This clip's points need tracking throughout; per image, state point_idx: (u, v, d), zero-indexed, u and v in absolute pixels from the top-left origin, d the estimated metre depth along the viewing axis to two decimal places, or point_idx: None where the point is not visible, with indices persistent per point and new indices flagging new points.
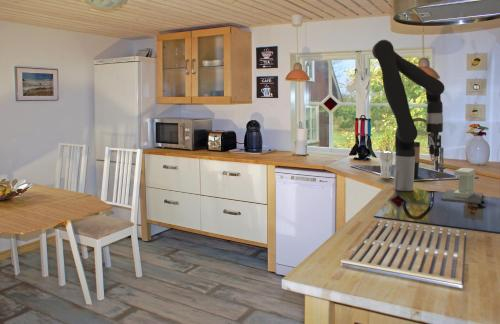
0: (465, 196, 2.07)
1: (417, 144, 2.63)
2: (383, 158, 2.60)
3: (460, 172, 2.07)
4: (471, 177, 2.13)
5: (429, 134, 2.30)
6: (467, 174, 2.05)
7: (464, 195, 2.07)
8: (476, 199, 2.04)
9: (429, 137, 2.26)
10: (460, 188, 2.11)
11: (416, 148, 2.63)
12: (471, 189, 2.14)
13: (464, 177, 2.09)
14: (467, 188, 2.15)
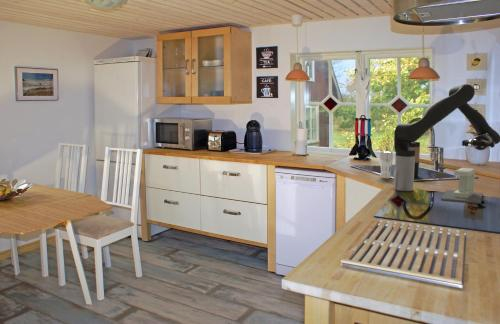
0: (465, 196, 2.07)
1: (417, 144, 2.63)
2: (383, 158, 2.60)
3: (460, 172, 2.07)
4: (471, 177, 2.13)
5: (467, 140, 2.34)
6: (467, 174, 2.05)
7: (464, 195, 2.07)
8: (476, 199, 2.04)
9: (476, 139, 2.30)
10: (460, 188, 2.11)
11: (416, 148, 2.63)
12: (471, 189, 2.14)
13: (464, 177, 2.09)
14: (467, 188, 2.15)
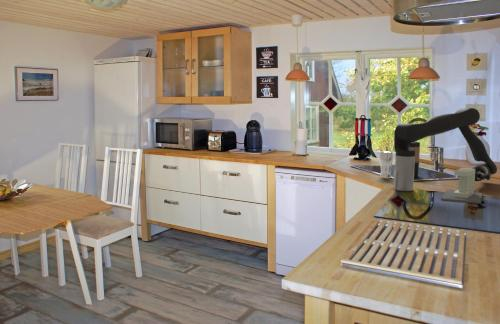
0: (465, 196, 2.07)
1: (417, 144, 2.63)
2: (383, 158, 2.60)
3: (460, 172, 2.07)
4: (471, 177, 2.13)
5: None
6: (467, 174, 2.05)
7: (464, 195, 2.07)
8: (476, 199, 2.04)
9: None
10: (460, 188, 2.11)
11: (416, 148, 2.63)
12: (471, 189, 2.14)
13: (464, 177, 2.09)
14: (467, 188, 2.15)
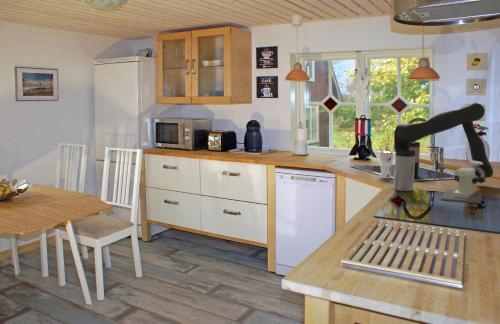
0: (465, 196, 2.07)
1: (417, 144, 2.63)
2: (383, 158, 2.60)
3: (460, 172, 2.07)
4: (471, 177, 2.13)
5: None
6: (467, 174, 2.05)
7: (464, 195, 2.07)
8: (476, 199, 2.04)
9: None
10: (460, 188, 2.11)
11: (416, 148, 2.63)
12: (471, 189, 2.14)
13: (464, 177, 2.09)
14: (467, 188, 2.15)
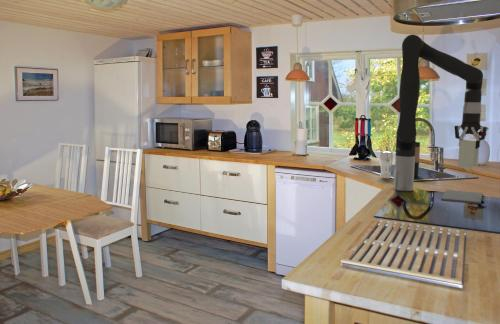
0: (475, 165, 2.19)
1: (417, 144, 2.63)
2: (383, 158, 2.60)
3: (463, 167, 2.12)
4: None
5: (457, 126, 2.15)
6: None
7: (474, 165, 2.18)
8: (476, 199, 2.04)
9: (466, 128, 2.12)
10: None
11: (416, 148, 2.63)
12: None
13: None
14: None
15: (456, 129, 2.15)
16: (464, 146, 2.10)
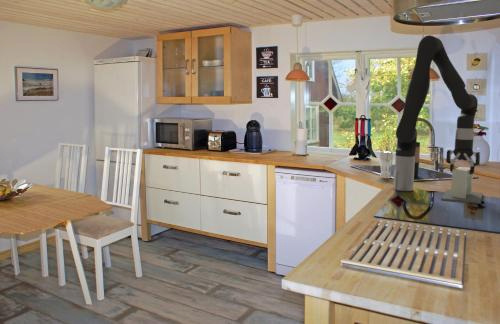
0: None
1: (417, 144, 2.63)
2: (383, 158, 2.60)
3: None
4: None
5: (449, 151, 2.13)
6: None
7: None
8: (476, 199, 2.04)
9: (459, 154, 2.09)
10: None
11: (416, 148, 2.63)
12: None
13: None
14: None
15: (448, 154, 2.13)
16: (457, 175, 2.08)
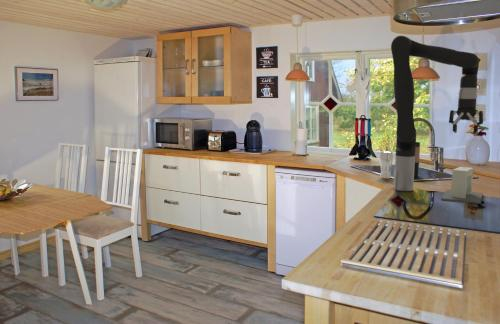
0: None
1: (417, 144, 2.63)
2: (383, 158, 2.60)
3: None
4: None
5: (453, 111, 2.14)
6: None
7: None
8: (476, 199, 2.04)
9: (462, 114, 2.10)
10: None
11: (416, 148, 2.63)
12: None
13: None
14: None
15: (451, 114, 2.14)
16: (457, 175, 2.08)
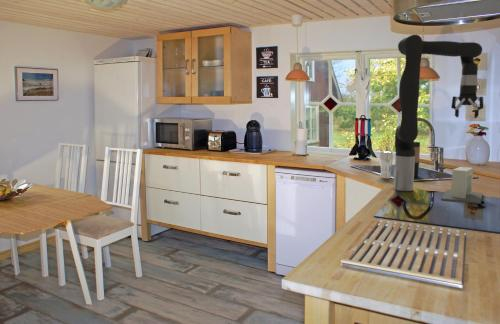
0: None
1: (417, 144, 2.63)
2: (383, 158, 2.60)
3: None
4: None
5: (455, 97, 2.30)
6: None
7: None
8: (476, 199, 2.04)
9: (463, 99, 2.26)
10: None
11: (416, 148, 2.63)
12: None
13: None
14: None
15: (454, 100, 2.30)
16: (457, 175, 2.08)
